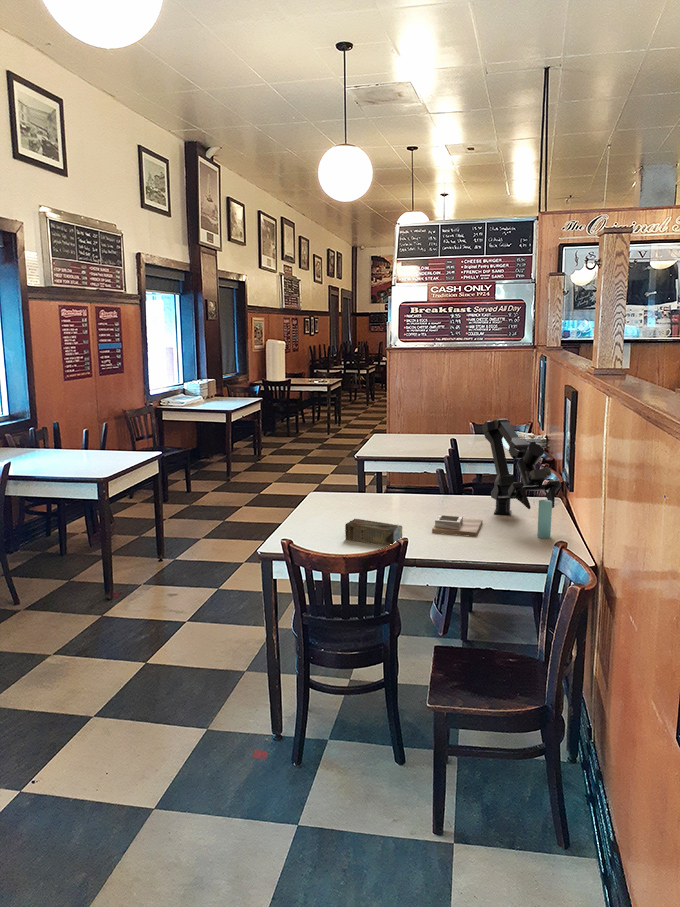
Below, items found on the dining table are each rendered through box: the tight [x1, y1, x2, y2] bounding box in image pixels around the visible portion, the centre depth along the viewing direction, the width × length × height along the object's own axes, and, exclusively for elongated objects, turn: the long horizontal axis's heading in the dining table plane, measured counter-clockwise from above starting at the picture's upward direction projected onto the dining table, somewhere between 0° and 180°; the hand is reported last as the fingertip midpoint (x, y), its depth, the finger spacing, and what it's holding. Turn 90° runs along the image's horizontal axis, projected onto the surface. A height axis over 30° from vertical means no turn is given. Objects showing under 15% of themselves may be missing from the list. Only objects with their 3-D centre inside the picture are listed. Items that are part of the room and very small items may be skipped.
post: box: [536, 499, 553, 539], centre depth 249 cm, size 4×4×13 cm
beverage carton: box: [344, 518, 403, 547], centre depth 246 cm, size 8×19×7 cm, turn 62°
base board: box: [431, 514, 483, 537], centre depth 261 cm, size 18×16×4 cm
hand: (541, 508), depth 250 cm, fingers open, 9 cm apart
